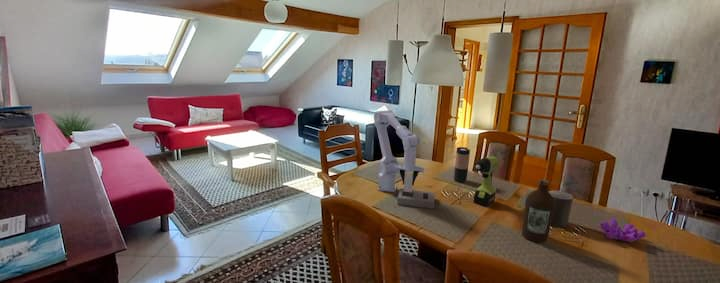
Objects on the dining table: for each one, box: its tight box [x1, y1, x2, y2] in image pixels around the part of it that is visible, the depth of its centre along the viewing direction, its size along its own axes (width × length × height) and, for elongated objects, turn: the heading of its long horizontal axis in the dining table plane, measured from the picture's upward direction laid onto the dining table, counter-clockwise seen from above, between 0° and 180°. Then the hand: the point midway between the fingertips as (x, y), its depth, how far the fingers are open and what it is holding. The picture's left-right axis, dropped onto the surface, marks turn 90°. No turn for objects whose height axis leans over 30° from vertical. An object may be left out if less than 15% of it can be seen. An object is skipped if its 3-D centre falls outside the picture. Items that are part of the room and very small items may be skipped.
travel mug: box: [453, 146, 471, 184], centre depth 189 cm, size 8×8×20 cm
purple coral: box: [599, 219, 647, 242], centre depth 132 cm, size 11×15×10 cm
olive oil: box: [521, 179, 555, 244], centre depth 130 cm, size 11×11×25 cm
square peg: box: [403, 173, 413, 192], centre depth 162 cm, size 4×4×8 cm
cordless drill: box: [472, 156, 501, 208], centre depth 158 cm, size 23×7×25 cm, turn 137°
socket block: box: [396, 188, 436, 209], centre depth 163 cm, size 18×12×4 cm, turn 77°
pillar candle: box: [548, 190, 574, 228], centre depth 143 cm, size 10×10×15 cm
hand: (408, 184), depth 162 cm, fingers closed on square peg, 4 cm apart
